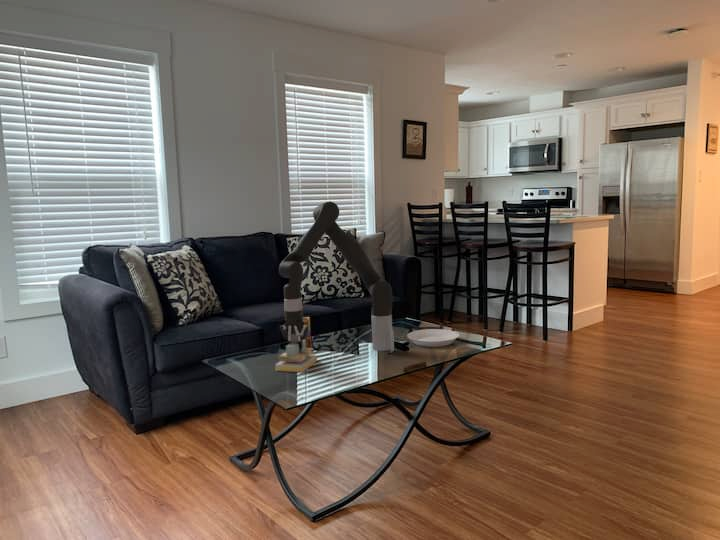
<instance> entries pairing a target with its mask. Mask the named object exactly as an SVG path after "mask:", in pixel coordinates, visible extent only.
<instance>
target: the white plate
mask: <svg viewBox="0 0 720 540" xmlns="http://www.w3.org/2000/svg"><path fill="white" fill-rule="evenodd" d="M406 336H407V338H408V339H410V340H411V341H412V342H413V343H414V344H415V345H417V346H420V347H429V348H431V347H432V348H436V347H446V346H448V345H449V346H450V345H451V344H453V342H454V341H455V340H456V339H457V338H459V336H460V333H459V332H457V331H454V330H451V329H450V330H449V329H445V328H444V329H442V328H429V329H427V328H425V329H420V330H419V329H418V330H414V331H411V332H409V333H407V335H406Z"/></svg>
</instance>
